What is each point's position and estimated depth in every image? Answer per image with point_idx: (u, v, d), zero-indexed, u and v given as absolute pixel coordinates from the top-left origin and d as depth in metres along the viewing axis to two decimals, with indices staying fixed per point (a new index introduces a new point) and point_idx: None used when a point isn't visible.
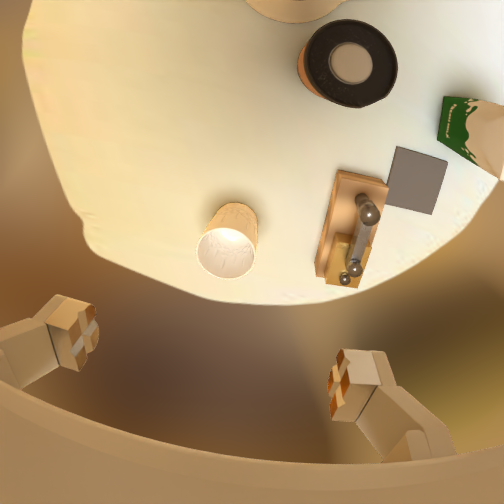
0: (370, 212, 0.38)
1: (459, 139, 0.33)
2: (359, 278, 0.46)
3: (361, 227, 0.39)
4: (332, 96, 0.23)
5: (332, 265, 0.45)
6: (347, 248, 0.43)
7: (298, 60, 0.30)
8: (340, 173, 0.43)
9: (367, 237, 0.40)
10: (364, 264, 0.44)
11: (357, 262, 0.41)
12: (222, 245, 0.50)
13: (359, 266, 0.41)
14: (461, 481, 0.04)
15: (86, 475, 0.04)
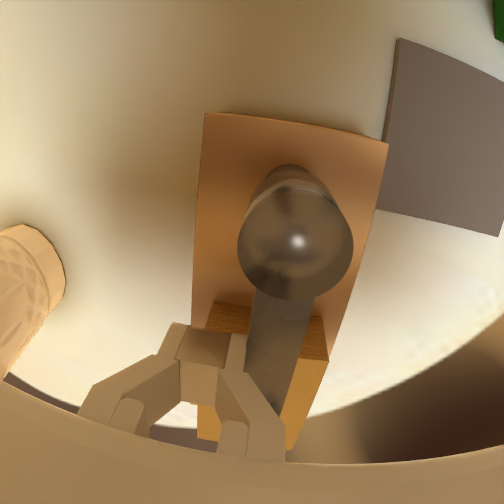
0: (292, 227, 0.07)
1: None
2: (294, 433, 0.14)
3: (257, 305, 0.08)
4: None
5: None
6: None
7: None
8: (221, 113, 0.13)
9: (293, 347, 0.09)
10: (306, 404, 0.13)
11: None
12: None
13: None
14: (461, 481, 0.04)
15: (86, 475, 0.04)
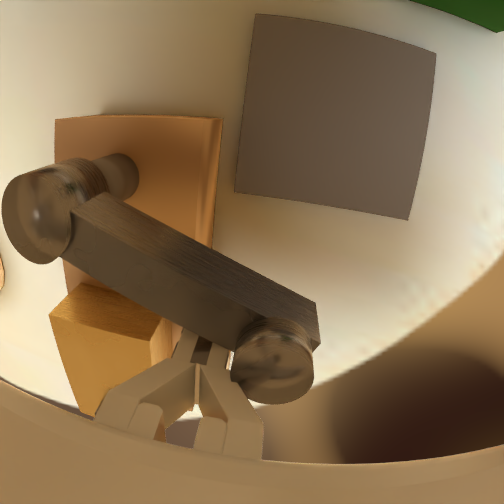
0: (17, 217, 0.07)
1: None
2: None
3: (78, 265, 0.08)
4: None
5: (69, 375, 0.14)
6: (79, 336, 0.12)
7: None
8: (85, 116, 0.14)
9: (126, 252, 0.08)
10: None
11: (240, 342, 0.08)
12: None
13: (248, 357, 0.07)
14: (461, 481, 0.04)
15: (86, 475, 0.04)
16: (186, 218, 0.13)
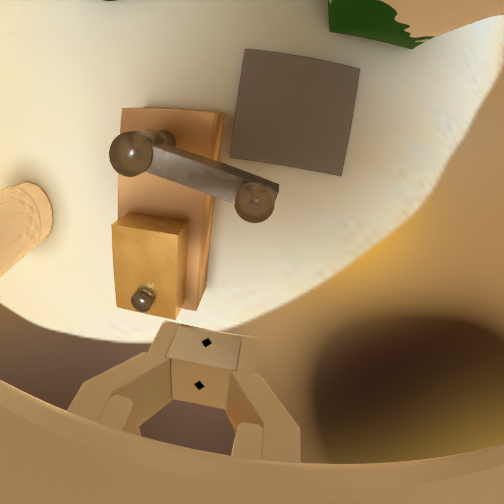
0: (120, 154, 0.17)
1: None
2: (172, 300, 0.23)
3: (155, 173, 0.17)
4: None
5: (116, 272, 0.23)
6: (131, 237, 0.22)
7: None
8: None
9: (181, 160, 0.17)
10: (173, 271, 0.22)
11: (238, 192, 0.17)
12: None
13: (241, 192, 0.16)
14: (461, 481, 0.04)
15: (86, 475, 0.04)
16: None
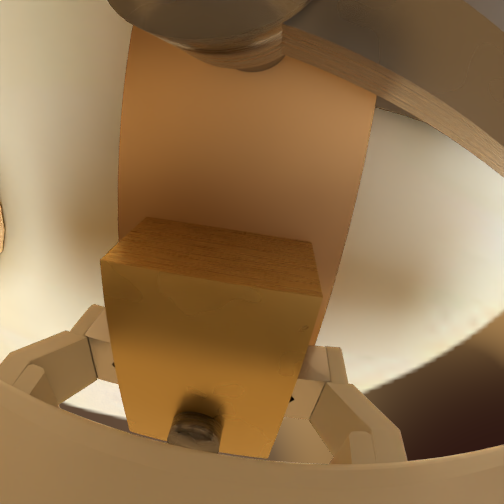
0: None
1: None
2: (269, 433, 0.09)
3: (350, 40, 0.03)
4: None
5: (122, 376, 0.08)
6: (163, 300, 0.07)
7: None
8: None
9: (467, 16, 0.02)
10: (286, 384, 0.08)
11: None
12: None
13: None
14: (461, 481, 0.04)
15: (86, 475, 0.04)
16: (360, 108, 0.08)
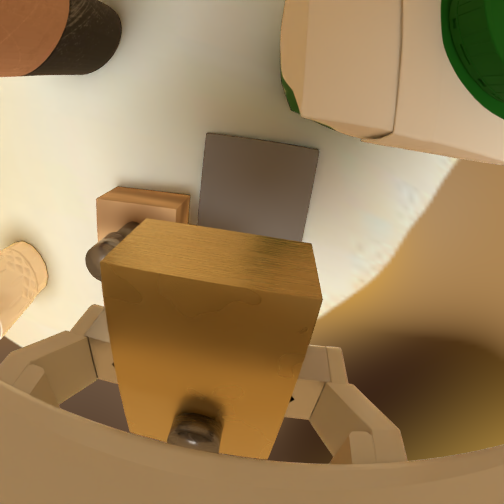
0: (94, 264, 0.20)
1: (282, 79, 0.16)
2: (269, 434, 0.09)
3: None
4: None
5: (122, 377, 0.08)
6: (163, 302, 0.07)
7: None
8: (111, 191, 0.26)
9: None
10: (285, 385, 0.08)
11: None
12: None
13: None
14: (462, 480, 0.04)
15: (86, 475, 0.04)
16: None
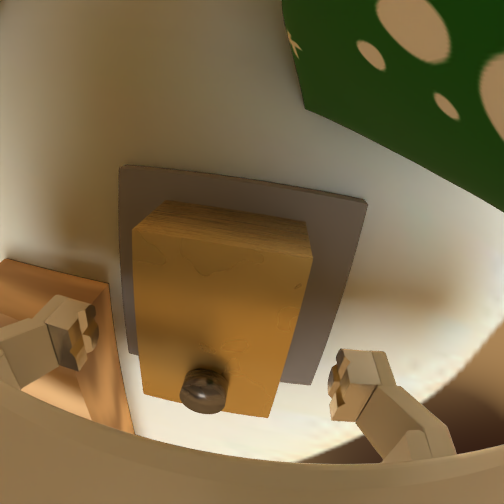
0: None
1: None
2: (270, 389, 0.11)
3: None
4: None
5: (142, 335, 0.10)
6: (183, 262, 0.09)
7: None
8: None
9: None
10: (284, 338, 0.10)
11: None
12: None
13: None
14: (462, 480, 0.04)
15: (86, 475, 0.04)
16: (77, 399, 0.12)
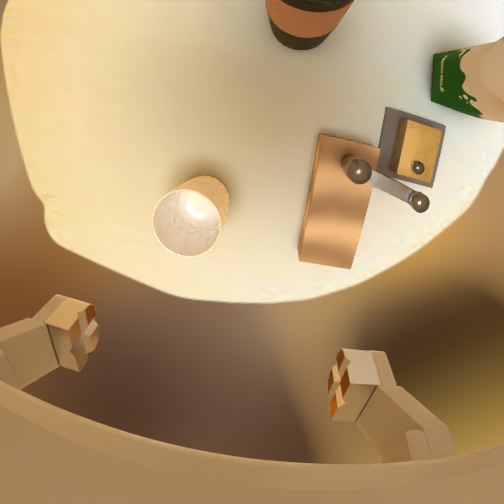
0: (354, 171, 0.31)
1: (455, 86, 0.27)
2: (431, 169, 0.35)
3: (371, 183, 0.32)
4: None
5: (403, 149, 0.35)
6: (418, 128, 0.34)
7: None
8: (323, 135, 0.37)
9: (385, 178, 0.31)
10: (436, 151, 0.34)
11: (412, 197, 0.31)
12: (188, 224, 0.42)
13: (416, 198, 0.31)
14: (462, 480, 0.04)
15: (86, 475, 0.04)
16: None
